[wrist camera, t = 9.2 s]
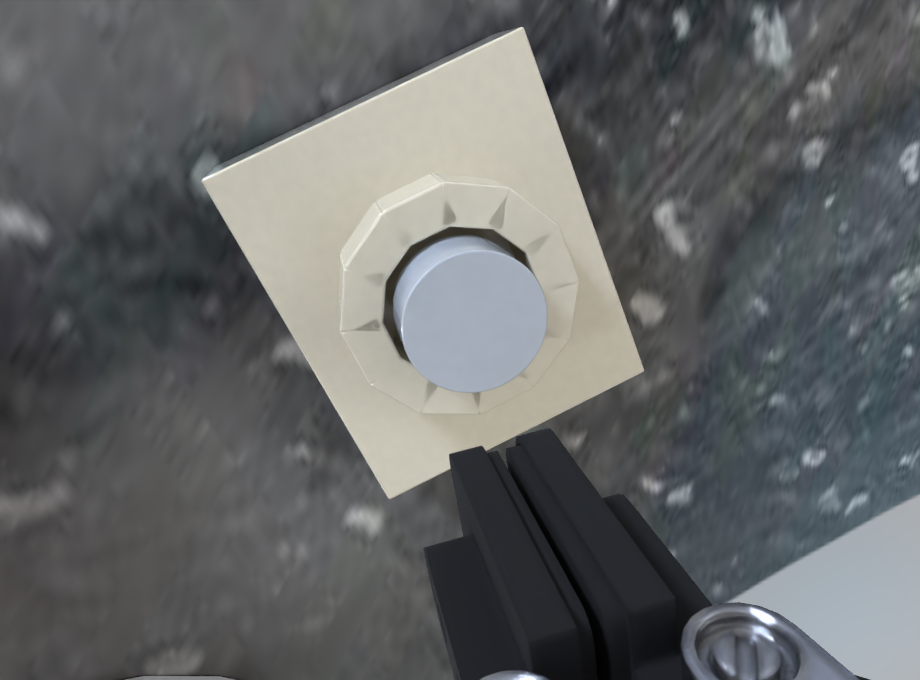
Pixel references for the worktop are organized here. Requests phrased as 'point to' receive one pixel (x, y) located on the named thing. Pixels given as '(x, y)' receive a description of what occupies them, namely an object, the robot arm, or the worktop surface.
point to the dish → (180, 678)
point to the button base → (416, 225)
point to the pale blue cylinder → (469, 313)
